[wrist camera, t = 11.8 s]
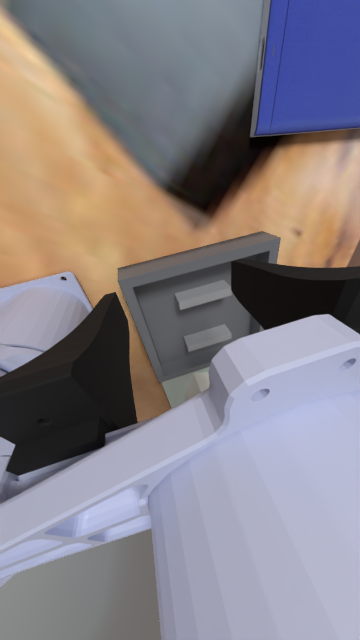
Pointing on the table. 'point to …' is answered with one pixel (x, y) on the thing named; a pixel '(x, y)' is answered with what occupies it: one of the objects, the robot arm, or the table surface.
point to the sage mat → (179, 387)
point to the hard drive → (307, 67)
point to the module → (197, 384)
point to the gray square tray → (192, 302)
